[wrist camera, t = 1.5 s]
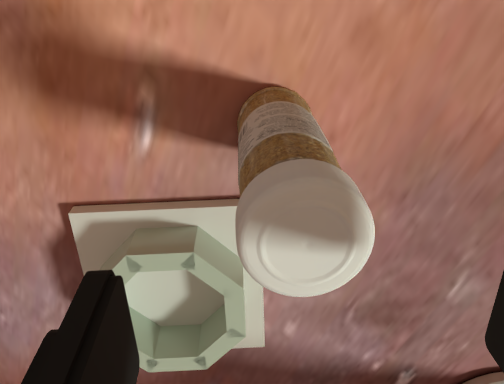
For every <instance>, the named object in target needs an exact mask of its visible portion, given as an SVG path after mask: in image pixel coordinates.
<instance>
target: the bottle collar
mask: <svg viewBox="0 0 504 384" xmlns="http://www.w3.org/2000/svg"><path fill="white" fill-rule="evenodd" d="M238 202H239V199H222V200H199V201H177V202H155V203H132V204H110V205H87V206H73V208H72V209H71V210H70V212H69V213H68V215H69V219H70V223H71V227H72V231H73V235H74V239H75V243H76V247H77V251H78V255H79V259H80V263H81V267H82V270H83V274H84V275H85V274H86V272H87V271H96V270H113V272H114V273H115V276H117V275H120V276H122V278H123V282H124V287H125V291H126V296H127V301H128V305H129V310H130V315H131V320H132V324H133V329H134V334H135V338H136V343H137V348H138V352H139V360H140V364H139V367H140V368H142V369H144V370H145V371H147V372H165V371H186V370H206V369H208V368H209V367H210V366H211V365H213V364H214V363H215V362H216V361H217V360H219V359H220V358H221V357H222V356H223V355H225V354H226V353H227V352H228V351H229V350H231V349H232V348H252V347H265V339H264V304H263V286H262V285H260V284H259V283H258V282H256V281H255V280H254V279H253V278H252V277H251V276H250V275H249V274H248V272H247V271H246V270H245V268H244V267H243V265H242V262H241V260H240V258H239V255H238V251H237V245H236V230H235V217H236V209H237V205H238Z"/></svg>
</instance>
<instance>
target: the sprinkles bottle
mask: <svg viewBox="0 0 504 384" xmlns="http://www.w3.org/2000/svg"><path fill="white" fill-rule="evenodd" d="M237 128H238V135H239V137H238V185H239V191H240V199H239V202H238V205H237V209H236V217H235V230H236V245H237V251H238V255H239V258H240V260H241V262H242V265H243V267H244V268H245V270H246V271H247V272H248V274H249V275H250V276H251V277H252V278H253V279H254V280H255V281H256V282H258V283H259V284H260V285H262V286H263V287H265V288H267V289H269V290H271V291H273V292H276V293H278V294H282V295H287V296H294V297H310V296H316V295H321V294H324V293H327V292H330V291H332V290H335V289H337V288H339V287H340V286H342V285H344V284H345V283H347V282H348V281H350V280H351V279H352V278H353V277H354V276H356V275H357V273H358V272H359V271H360V270H361V269H362V268H363V266H364V265H365V263H366V262H367V260H368V258H369V256H370V254H371V251H372V248H373V244H374V238H375V226H374V221H373V217H372V214H371V212H370V209H369V207H368V205H367V203H366V201H365V199H364V198H363V196H362V194H361V192H360V191H359V189H358V187H357V186H356V184H355V183H354V181H353V180H352V179H351V178H350V177H349V176H348V175H347V174H346V173H345V172H343V171H342V170H341V167H340V166H339V164H338V162H337V160H336V158H335V156H334V154H333V150H332V148H331V147H330V145H329V143H328V141H327V139H326V137H325V135H324V133H323V132H322V130H321V128H320V126H319V125H318V123H317V121H316V120H315V118H314V117H313V116H312V113H311V110H310V107H309V106H308V104H307V103H306V101H305V100H304V99H303V98H302V97H301V96H300V95H299V94H298V93H296V92H295V91H292V90H289V89H287V88H283V87H268V88H264V89H262V90H260V91H257V92H256V93H254V94H253V95H252V96H250V97H249V98H248V99H247V100H246V101H245V103H244V104H243V106H242V108H241V111H240V113H239V116H238V121H237Z"/></svg>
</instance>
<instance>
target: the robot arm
mask: <svg viewBox="0 0 504 384" xmlns="http://www.w3.org/2000/svg"><path fill="white" fill-rule="evenodd" d="M485 342H486V346H487V349H488V350H489V352H490V354H491V355H492V356H493V358H494V359H495V361H496V362H497V364H498V365H499V367H500V368H501V370H502V371H503V372H497V373H491V374H487V375H483V376H480V377H476V378H474V379H472V380H469V381H467V382H464V383H462V384H504V271H503V275H502V278H501V282H500V285H499V289H498V292H497V296H496V299H495V303H494V306H493V310H492V313H491V317H490V320H489V324H488V327H487V331H486V334H485ZM139 364H140V360H139V352H138V348H137V343H136V338H135V334H134V329H133V324H132V320H131V315H130V310H129V305H128V301H127V296H126V291H125V287H124V282H123V278H122V276H120V275H117V276H115V273H114V272H113V270H96V271H87V272H86V274H85V275H84V277H83V279H82V281H81V284H80V286H79V288H78V290H77V292H76V294H75V296H74V298H73V300H72V302H71V304H70V307H69V309H68V311H67V313H66V315H65V317H64V319H63V321H62V323H61V325H60V327H59V329H57V330H51V331H49V332H48V333H47V334H46V336H45V337H44V339H43V341H42V343H41V345H40V347H39V349H38V351H37V353H36V355H35V357H34V359H33V361H32V363H31V365H30V367H29V369H28V371H27V373H26V375H25V377H24V379H23V381H22V383H21V384H136V381H137V377H138V372H139Z"/></svg>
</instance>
